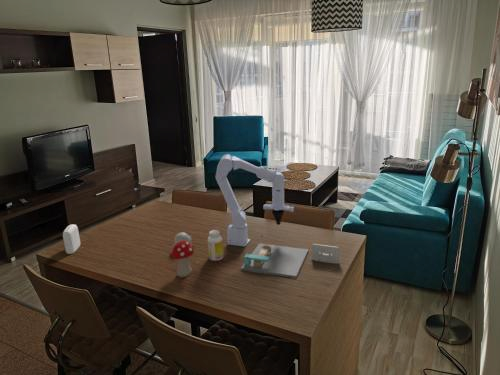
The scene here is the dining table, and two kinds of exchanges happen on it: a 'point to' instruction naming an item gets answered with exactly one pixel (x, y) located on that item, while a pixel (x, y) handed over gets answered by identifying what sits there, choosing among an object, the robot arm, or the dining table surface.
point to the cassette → (325, 257)
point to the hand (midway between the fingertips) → (278, 224)
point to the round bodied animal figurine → (182, 238)
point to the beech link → (264, 252)
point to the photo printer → (71, 238)
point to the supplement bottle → (215, 245)
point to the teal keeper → (254, 258)
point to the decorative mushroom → (183, 257)
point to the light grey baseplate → (279, 261)
